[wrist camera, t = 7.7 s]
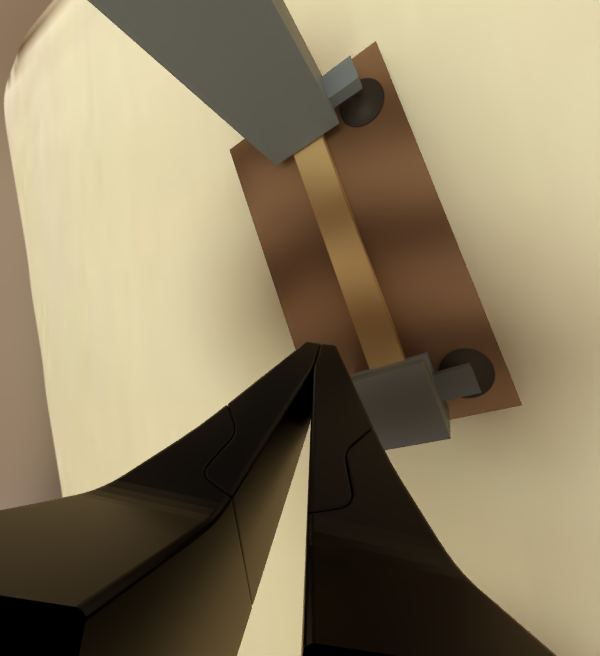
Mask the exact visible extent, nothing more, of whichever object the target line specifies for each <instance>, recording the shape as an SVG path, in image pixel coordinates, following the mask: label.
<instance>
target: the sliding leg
mask: <svg viewBox="0 0 600 656" xmlns="http://www.w3.org/2000/svg"><path fill="white" fill-rule="evenodd" d="M88 1H89V2H90V3H91V4H93V5H94V6H95V7H96V8H97V9H98V10H99V11H100V12H102V13H103V14H104V15H105V16H106V17H107V18H108V19H110V20H111V21H112V22H113V23H114V24H115V25H116V26H118V27H119V28H120V29H121V30H122V31H123V32H124V33H126V34H127V35H128V36H129V37H130V38H131V39H132V40H133V41H135V42H136V43H137V44H138V45H139V46H140V47H141V48H143V49H144V50H145V51H146V52H147V53H148V54H149V55H151V56H152V57H153V58H154V59H155V60H156V61H157V62H159V63H160V64H161V65H162V66H163V67H164V68H165V69H167V70H168V71H169V72H170V73H171V74H172V75H173V76H174V77H176V78H177V79H178V80H179V81H180V82H181V83H182V84H184V85H185V86H186V87H187V88H188V89H189V90H190V91H192V92H193V93H194V94H195V95H196V96H197V97H198V98H200V99H201V100H202V101H203V102H204V103H205V104H206V105H208V106H209V107H210V108H211V109H212V110H213V111H214V112H215V113H217V114H218V115H219V116H220V117H221V118H222V119H223V120H225V121H226V122H227V123H228V124H229V125H230V126H231V127H233V128H234V129H235V130H236V131H237V132H238V133H239V134H241V135H242V136H243V137H244V138H245V139H246V140H247V141H248V142H250V143H251V144H252V145H253V146H254V147H255V148H256V149H258V150H259V151H260V152H261V153H262V154H263V155H264V156H266V157H267V158H268V159H269V160H270V161H271V162H272V163H274V164H275V165H278V164H279V163H281V162H282V161H284V160H285V159H287V158H288V157H290V156H291V155H293V154H294V153H296V152H297V151H299V150H300V149H302V148H303V147H305V146H306V145H308V144H309V143H311V142H312V141H314V140H315V139H317V138H318V137H320V136H321V135H323V134H324V133H326V132H327V131H329V130H330V129H332V128H333V127H335V126H336V125H338V124H339V121H338V118H337V115H336V113H335V110H334V108H335V107H336V106H338V105H339V104H341V103H342V102H343V101H345V100H346V99H348V98H349V97H351V96H353V97H356V96H358V95H359V94H360V93H361V92H362V90H363V85H362V83H361V80H360V77H359V76H358V74H357V72H356V69H355V66H354V64H353V61H352V59H351V56H349V57H348V58H346V59H345V60H344V61H342V62H341V63H340V64H338V65H337V66H336V67H334V68H333V69H332V70H330V71H329V72H328V73H326V74H325V75H324V76H322V75H321V73H320V71H319V69H318V67H317V65H316V63H315V61H314V59H313V57H312V55H311V53H310V51H309V50H308V48H307V46H306V44H305V42H304V40H303V38H302V36H301V34H300V32H299V30H298V28H297V26H296V24H295V22H294V20H293V18H292V16H291V15H290V13H289V11H288V9H287V7H286V5H285V3H284V1H283V0H88Z"/></svg>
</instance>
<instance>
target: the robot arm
mask: <svg viewBox="0 0 600 656" xmlns="http://www.w3.org/2000/svg"><path fill="white" fill-rule="evenodd" d="M310 421H311V432H310V456H309V480H308V505H307V529H306V553H305V577H304V601H303V625H302V649H301V656H556V655H555V654H554V653H553V652H552V651H550V650H549V649H548V648H547V647H546V646H545V645H543V644H542V643H541V642H540V641H539V640H538V639H537V638H535V637H534V636H533V635H532V634H531V633H530V632H528V631H527V630H526V629H525V628H524V627H523V626H521V625H520V624H519V623H518V622H517V621H516V620H514V619H513V618H512V617H511V616H510V615H509V614H508V613H506V612H505V611H504V610H503V609H502V608H501V607H499V606H498V605H497V604H496V603H495V602H494V601H492V600H491V599H490V598H489V597H488V596H487V595H485V594H484V593H483V592H482V591H481V590H480V589H479V588H477V587H476V586H475V585H474V584H473V583H472V582H471V581H470V580H469V579H468V578H467V577H466V576H465V575H464V574H463V572H462V571H461V570H460V569H459V568H458V566H457V565H456V564H455V563H454V562H453V560H452V559H451V558H450V556H449V555H448V553H447V552H446V551H445V549H444V547H443V546H442V544H441V543H440V541H439V540H438V538H437V537H436V535H435V533H434V532H433V530H432V529H431V527H430V525H429V524H428V522H427V521H426V519H425V517H424V516H423V514H422V513H421V511H420V509H419V508H418V506H417V505H416V503H415V501H414V500H413V498H412V497H411V495H410V493H409V492H408V490H407V489H406V487H405V486H404V484H403V482H402V481H401V479H400V477H399V476H398V474H397V472H396V470H395V469H394V467H393V465H392V464H391V462H390V460H389V458H388V456H387V454H386V452H385V450H384V448H383V446H382V444H381V442H380V440H379V438H378V436H377V433H376V431H375V430H374V427H373V425H372V423H371V421H370V419H369V416H368V414H367V412H366V410H365V408H364V406H363V403H362V401H361V399H360V397H359V395H358V393H357V390H356V388H355V386H354V384H353V382H352V379H351V377H350V375H349V373H348V371H347V369H346V366H345V364H344V362H343V360H342V358H341V356H340V353H339V351H338V349H337V347H336V346H335V345H328V344H322V345H320V344H319V343H312V342H306V343H304V344H303V345H302V346H301V347H299V348H298V349H297V350H295V351H294V352H293V353H292V354H290V355H289V356H288V357H287V358H285V359H284V360H283V361H282V362H280V363H279V364H278V365H277V366H275V367H274V368H273V369H271V370H270V371H269V372H268V373H266V374H265V375H264V376H263V377H261V378H260V379H259V380H258V381H256V382H255V383H254V384H253V385H251V386H250V387H249V388H247V389H246V390H245V391H244V392H242V393H241V394H240V395H239V396H237V397H236V398H235V399H234V400H232V401H231V402H230V403H229V404H228V406H227V405H226V406H225V407H223V408H222V409H221V410H219V411H218V412H217V413H216V414H214V415H213V416H212V417H210V418H209V419H208V420H206V421H205V422H204V423H202V424H201V425H200V426H198V427H197V428H195V429H194V430H192V431H191V432H189V433H188V434H187V435H185V436H184V437H182V438H181V439H179V440H178V441H176V442H175V443H173V444H171V445H170V446H168V447H167V448H165V449H164V450H162V451H161V452H159V453H157V454H156V455H154V456H153V457H151V458H150V459H148V460H147V461H145V462H143V463H142V464H140V465H139V466H137V467H136V468H134V469H133V470H131V471H129V472H128V473H126V474H125V475H123V476H121V477H120V478H118V479H116V480H115V481H113V482H111V483H109V484H107V485H105V486H102V487H100V488H97V489H95V490H92V491H89V492H86V493H82V494H78V495H73V496H68V497H63V498H59V499H54V500H49V501H44V502H39V503H34V504H29V505H25V506H19V507H14V508H10V509H5V510H0V656H237V653H238V650H239V647H240V644H241V641H242V638H243V634H244V631H245V628H246V625H247V622H248V619H249V615H250V612H251V609H252V604H253V602H254V599H255V596H256V593H257V590H258V587H259V583H260V580H261V577H262V574H263V571H264V568H265V564H266V561H267V558H268V555H269V552H270V548H271V545H272V542H273V539H274V536H275V533H276V529H277V526H278V523H279V520H280V517H281V514H282V510H283V507H284V504H285V501H286V498H287V494H288V491H289V488H290V485H291V482H292V479H293V475H294V472H295V469H296V466H297V463H298V460H299V456H300V453H301V450H302V447H303V444H304V441H305V437H306V434H307V431H308V428H309V424H310Z"/></svg>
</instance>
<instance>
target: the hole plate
mask: <svg viewBox="0 0 600 656" xmlns="http://www.w3.org/2000/svg"><path fill="white" fill-rule="evenodd" d="M352 61H353V64H354V66H355V69H356V72H357V74H358V76H359V77H360V80H361V83H362V85H363V90H362V92H361V93H360V94H359V95H358V96H356V97H353V96H351V97H349V98H348V99H346V100H345V101H343V102H342V103H341V104H339V105H338V106H336V107H335V108H334V110H335V113H336V115H337V118H338V121H339V124H338V125H336V126H335V127H333V128H332V129H330V130H329V131H327V132H326V133H324V134H323V135H321V136H320V137H318V138H317V139H315V140H314V141H312V142H311V143H309V144H308V145H306V146H305V147H303V148H302V149H300V150H299V151H297V152H296V153H294V154H293V155H291V156H290V157H288V158H287V159H285V160H284V161H282V162H281V163H279V164H278V165H275V164H274V163H272V162H271V161H270V160H269V159H268V158H267V157H266V156H264V155H263V154H262V153H261V152H260V151H259V150H258V149H256V148H255V147H254V146H253V145H252V144H251V143H250V142H248V141H247V140H246V139H244V140H242V141H241V142H240V143H238V144H237V145H235V146H234V147H233V148H231V149H230V152H231V155H232V158H233V161H234V164H235V167H236V170H237V173H238V176H239V179H240V183H241V186H242V189H243V192H244V195H245V198H246V201H247V204H248V207H249V210H250V213H251V216H252V219H253V222H254V225H255V228H256V231H257V234H258V237H259V240H260V243H261V246H262V249H263V252H264V255H265V258H266V261H267V264H268V267H269V270H270V273H271V276H272V279H273V282H274V285H275V288H276V291H277V294H278V297H279V300H280V303H281V306H282V309H283V312H284V315H285V318H286V321H287V324H288V327H289V330H290V333H291V336H292V339H293V342H294V345H295V348H296V350H297V349H298V348H299V347H301V346H302V345H303V344H304V343H306V342H312V343H319V344H320V345H322V344H328V345H335V346H336V347H337V349H338V351H339V353H340V356H341V358H342V360H343V362H344V364H345V366H346V369H347V371H348V373H349V375H350V377H351V379H352V382H353V384H354V386H355V388H356V390H357V393H358V395H359V397H360V399H361V401H362V403H363V406H364V408H365V410H366V412H367V414H368V416H369V419H370V421H371V423H372V425H373V427H374V430H375V431H376V433H377V436H378V438H379V440H380V442H381V444H382V446H383V448H384V450H388V449H394V448H400V447H405V446H411V445H417V444H422V443H428V442H434V441H439V440H445V439H450V419H455V418H460V417H465V416H470V415H475V414H480V413H485V412H490V411H495V410H500V409H505V408H510V407H515V406H520V405H522V404H521V401H520V399H519V396H518V394H517V391H516V389H515V386H514V384H513V381H512V379H511V376H510V374H509V371H508V369H507V366H506V364H505V361H504V359H503V356H502V354H501V351H500V349H499V346H498V344H497V342H496V339H495V337H494V334H493V332H492V329H491V327H490V324H489V322H488V319H487V317H486V314H485V312H484V309H483V307H482V304H481V302H480V299H479V297H478V294H477V292H476V289H475V287H474V284H473V282H472V279H471V277H470V274H469V272H468V269H467V267H466V264H465V262H464V259H463V257H462V254H461V252H460V249H459V247H458V244H457V242H456V239H455V237H454V235H453V232H452V230H451V227H450V225H449V222H448V220H447V217H446V215H445V212H444V210H443V207H442V205H441V202H440V200H439V197H438V195H437V192H436V190H435V187H434V185H433V182H432V180H431V177H430V175H429V172H428V170H427V167H426V165H425V162H424V160H423V157H422V155H421V152H420V150H419V147H418V145H417V142H416V140H415V137H414V135H413V132H412V130H411V128H410V125H409V123H408V120H407V118H406V115H405V113H404V110H403V108H402V105H401V103H400V100H399V98H398V95H397V93H396V90H395V88H394V85H393V83H392V80H391V78H390V75H389V73H388V70H387V68H386V65H385V63H384V60H383V58H382V55H381V53H380V50H379V48H378V45H377V43H376V41H375V42H374V43H373V44H371V45H370V46H369V47H367V48H366V49H365V50H363V51H362V52H361V53H359V54H358V55H357V56H355V57H354V58H353V59H352Z"/></svg>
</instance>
